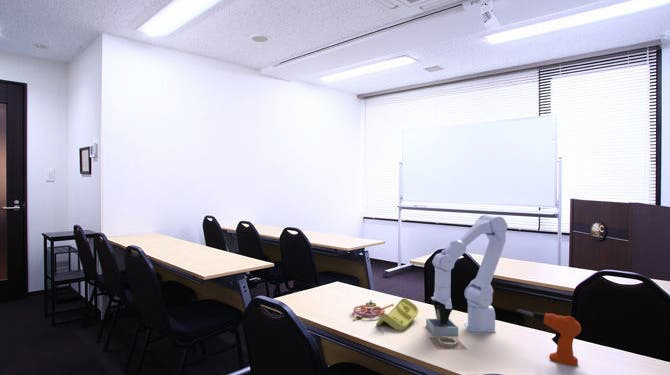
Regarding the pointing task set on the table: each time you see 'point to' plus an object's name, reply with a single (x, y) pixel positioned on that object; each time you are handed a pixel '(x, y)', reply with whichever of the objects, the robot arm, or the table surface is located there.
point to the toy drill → (560, 335)
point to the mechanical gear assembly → (369, 310)
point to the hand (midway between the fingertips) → (441, 322)
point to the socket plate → (447, 343)
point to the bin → (441, 328)
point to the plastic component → (400, 315)
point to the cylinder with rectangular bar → (439, 320)
